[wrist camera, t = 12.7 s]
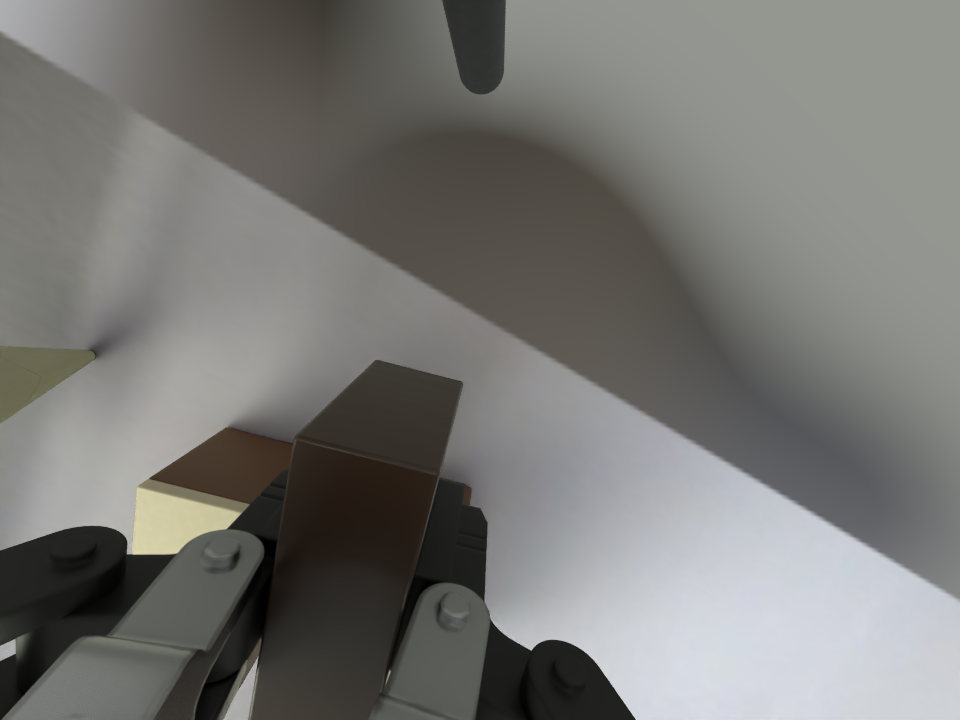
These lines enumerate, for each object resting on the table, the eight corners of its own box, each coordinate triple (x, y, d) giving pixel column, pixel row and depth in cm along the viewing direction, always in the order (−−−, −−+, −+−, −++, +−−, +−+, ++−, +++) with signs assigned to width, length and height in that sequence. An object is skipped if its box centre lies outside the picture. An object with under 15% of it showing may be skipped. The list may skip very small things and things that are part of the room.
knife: (375, 358, 11) (292, 434, 7) (464, 381, 11) (440, 472, 7) (282, 813, 15) (193, 1049, 11) (348, 828, 15) (285, 1069, 11)
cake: (226, 426, 22) (135, 485, 16) (319, 450, 22) (259, 517, 17) (207, 579, 24) (121, 676, 19) (291, 600, 24) (231, 702, 19)
